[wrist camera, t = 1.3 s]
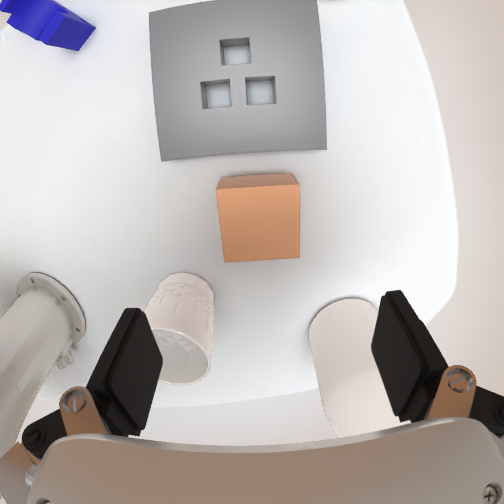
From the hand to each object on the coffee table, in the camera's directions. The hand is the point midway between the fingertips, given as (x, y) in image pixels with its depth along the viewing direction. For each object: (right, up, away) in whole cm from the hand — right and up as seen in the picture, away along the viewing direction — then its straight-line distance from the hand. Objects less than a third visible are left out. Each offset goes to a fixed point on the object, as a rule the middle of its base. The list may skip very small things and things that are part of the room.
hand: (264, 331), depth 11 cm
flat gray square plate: (-2, +19, +12) cm, 22 cm away
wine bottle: (+11, -6, +25) cm, 28 cm away
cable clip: (-22, +28, +7) cm, 36 cm away
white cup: (-8, -2, +23) cm, 24 cm away
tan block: (0, +8, +17) cm, 19 cm away
